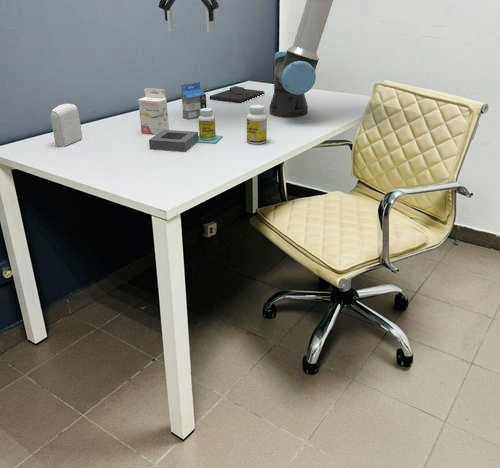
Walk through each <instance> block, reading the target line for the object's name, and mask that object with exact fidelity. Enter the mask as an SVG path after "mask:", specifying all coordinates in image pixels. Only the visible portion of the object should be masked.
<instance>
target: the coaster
mask: <svg viewBox="0 0 500 468" xmlns="http://www.w3.org/2000/svg"><path fill="white" fill-rule="evenodd" d="M198 139H199V140H198V141H197V143H196V144H209V145H210V144H213V145H216V144H217V143H218V142H219V141H220V140H221V139H223V135H217V134H216V138H215V139H213V140H201V139H200V136H199V135H198Z"/></svg>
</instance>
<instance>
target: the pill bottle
mask: <svg viewBox="0 0 500 468" xmlns="http://www.w3.org/2000/svg"><path fill="white" fill-rule="evenodd" d="M248 109H249V113H248V114H247V115H246V141H247V143H249V144H251V145H261V144H262V145H263V144H265V143H266V142H267V140H268V139H267V137H268V136H267V135H268V134H267V133H268V131H267V130H268V129H267V127H268V125H267V124H268V116H267V115H266V114H265V113H264V111H265V106H264V105H263V104H251V105H249V106H248Z"/></svg>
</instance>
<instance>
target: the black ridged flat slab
mask: <svg viewBox="0 0 500 468" xmlns="http://www.w3.org/2000/svg"><path fill="white" fill-rule="evenodd" d="M262 94H264V95H265V90H258V89H257V90H256V89H248V88H245V87H243V86H237V85H235V86H231V87H229V88H228V89H226V90H224V91H221V92H217V93H215V94H212V95H209V100H210V101H218V102H225V103H226V102H227V103H232V104H233V103H234V104H243V103H245V101H246V102H248V101H251V100H253V99H252V98H254V99H256V98H258V97H257V96H259V97H261V96H260V95H262ZM262 96H263V95H262ZM255 97H256V98H255ZM250 99H251V100H250ZM247 100H248V101H247ZM242 102H243V103H242Z"/></svg>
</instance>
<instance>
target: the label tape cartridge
mask: <svg viewBox="0 0 500 468" xmlns="http://www.w3.org/2000/svg"><path fill="white" fill-rule="evenodd" d="M191 87H192V88H191ZM180 89H181V105H182V107H181V108H182V118H183V119H186V120H191V119H196V118H197V119H198V118H199V116H200V115H201V114H200V109H203V108H208V107H207V94H206V92H204V90H202V89H201V82H200V81H198V82H192V83H191V82H190V83H185V84H181V85H180Z"/></svg>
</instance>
